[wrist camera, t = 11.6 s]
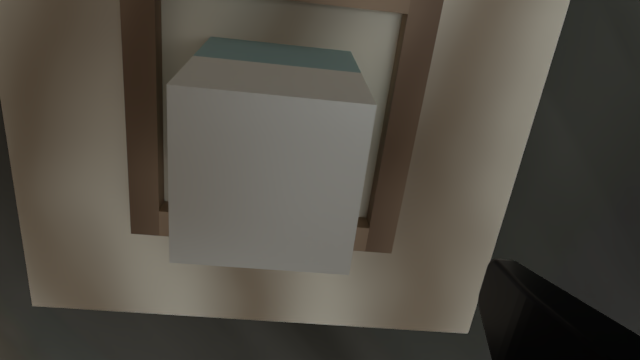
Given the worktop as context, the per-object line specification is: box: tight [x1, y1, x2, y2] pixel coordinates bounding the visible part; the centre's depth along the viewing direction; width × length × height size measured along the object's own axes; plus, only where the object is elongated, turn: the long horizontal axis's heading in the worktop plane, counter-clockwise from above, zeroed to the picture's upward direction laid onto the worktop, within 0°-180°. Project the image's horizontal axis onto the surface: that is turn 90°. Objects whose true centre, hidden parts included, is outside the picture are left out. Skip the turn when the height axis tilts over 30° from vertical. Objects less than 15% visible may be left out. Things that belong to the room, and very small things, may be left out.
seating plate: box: [0, 0, 570, 334], centre depth 17 cm, size 18×18×2 cm
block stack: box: [167, 37, 377, 275], centre depth 14 cm, size 4×4×6 cm
